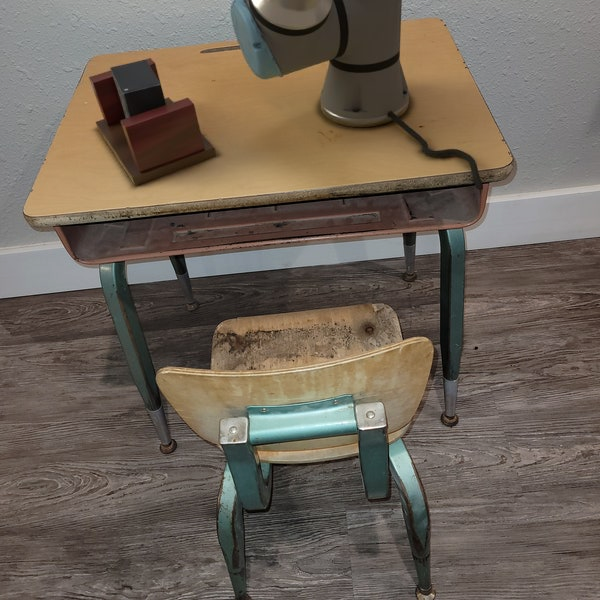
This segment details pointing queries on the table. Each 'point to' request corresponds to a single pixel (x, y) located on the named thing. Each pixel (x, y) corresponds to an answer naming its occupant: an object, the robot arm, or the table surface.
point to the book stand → (150, 133)
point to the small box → (137, 88)
